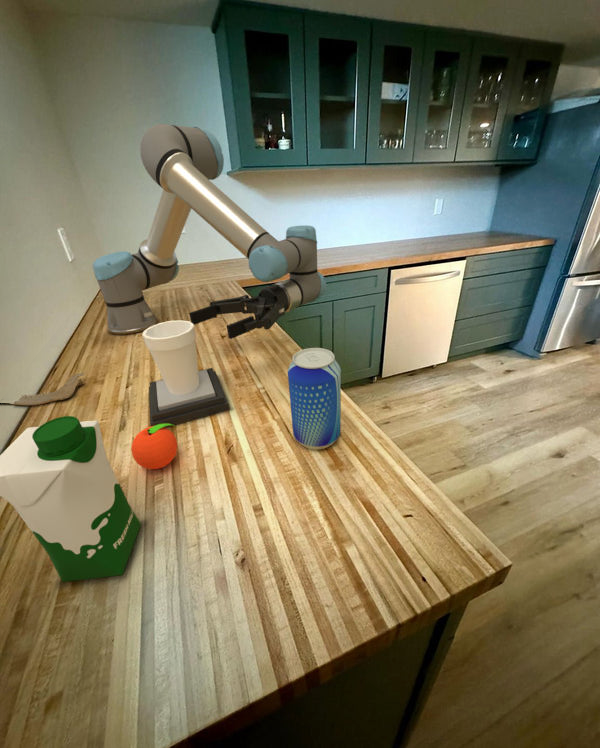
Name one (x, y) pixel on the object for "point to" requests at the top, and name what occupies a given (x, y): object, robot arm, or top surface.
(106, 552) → the milk carton
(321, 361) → the beer can
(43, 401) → the jawbone
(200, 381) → the scale platform
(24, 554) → the top surface
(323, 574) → the top surface
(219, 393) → the scale
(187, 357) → the foam cup
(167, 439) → the clementine
